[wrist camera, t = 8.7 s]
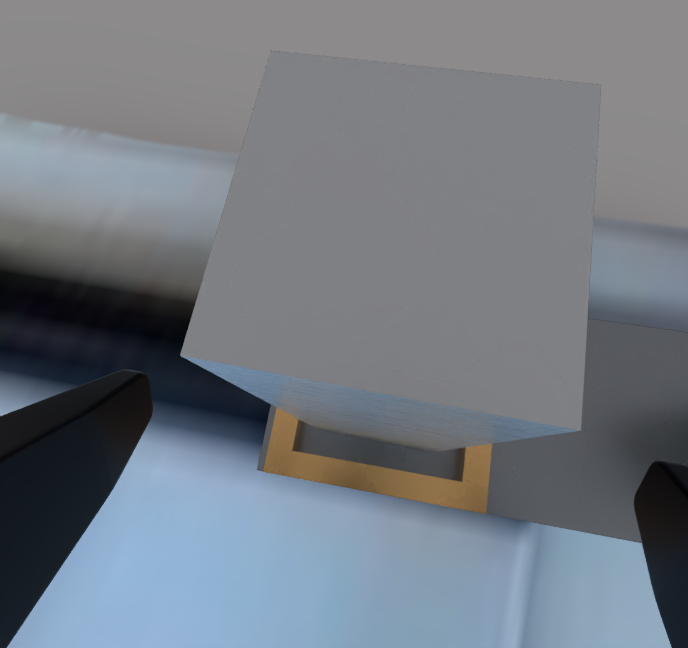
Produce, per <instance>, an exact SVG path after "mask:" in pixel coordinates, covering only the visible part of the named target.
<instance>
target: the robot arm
mask: <svg viewBox="0 0 688 648" xmlns="http://www.w3.org/2000/svg"><path fill="white" fill-rule="evenodd" d="M152 412H153V405H152V398H151V391H150V384H149V379H148V376H147V375H146V374H145V373H144V372H140V371H135V370H129V369H123V370H120V371H118V372H115V373H112V374H110V375H107V376H105V377H102V378H99V379H97V380H94V381H91V382H89V383H86V384H84V385H81V386H78V387H76V388H73V389H71V390H68V391H65V392H63V393H60V394H58V395H55V396H52V397H50V398H47V399H44V400H42V401H39V402H37V403H34V404H31V405H29V406H26V407H24V408H21V409H18V410H16V411H13V412H11V413H8V414H5V415H3V416H0V648H7V646H8V645H9V644H10V642H11V641H12V639H13V638H14V636H15V635H16V633H17V632H18V630H19V629H20V627H21V626H22V624H23V623H24V621H25V620H26V618H27V617H28V615H29V614H30V612H31V611H32V609H33V608H34V606H35V605H36V603H37V602H38V600H39V599H40V597H41V596H42V594H43V593H44V591H45V590H46V588H47V587H48V586H49V584H50V583H51V581H52V580H53V578H54V577H55V575H56V574H57V572H58V571H59V569H60V568H61V566H62V565H63V563H64V562H65V560H66V559H67V557H68V556H69V554H70V553H71V551H72V550H73V548H74V547H75V545H76V544H77V542H78V541H79V539H80V538H81V536H82V535H83V533H84V532H85V531H86V529H87V528H88V526H89V525H90V523H91V522H92V520H93V519H94V517H95V516H96V514H97V513H98V511H99V510H100V508H101V507H102V505H103V504H104V502H105V501H106V499H107V498H108V496H109V495H110V493H111V491H112V490H113V488H114V486H115V485H116V483H117V481H118V479H119V478H120V476H121V474H122V472H123V470H124V468H125V466H126V464H127V463H128V461H129V459H130V457H131V455H132V453H133V451H134V449H135V448H136V446H137V444H138V442H139V440H140V438H141V436H142V434H143V433H144V431H145V429H146V427H147V425H148V423H149V421H150V419H151V416H152ZM634 510H635V515H636V519H637V523H638V528H639V532H640V536H641V541H642V545H643V549H644V554H645V558H646V562H647V567H648V571H649V575H650V580H651V584H652V588H653V592H654V595H655V599H656V602H657V605H658V609H659V612H660V615H661V618H662V621H663V624H664V627H665V629H666V632H667V635H668V638H669V641H670V644H671V647H672V648H688V467H687V466H686V465H683V464H681V463H675V462H669V461H664V460H656V461H654V462H653V463H652V464H651V465H650V466H649V468H648V470H647V472H646V474H645V476H644V478H643V480H642V482H641V483H640V485H639V487H638V489H637V491H636V493H635V496H634Z"/></svg>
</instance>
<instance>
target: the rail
mask: <svg viewBox="0 0 688 648" xmlns="http://www.w3.org/2000/svg"><path fill="white" fill-rule="evenodd" d="M656 460H664V461H669V462H675V463H681V464H683V465H686V466H687V467H688V332H681V331H674V330H667V329H659V328H652V327H645V326H638V325H631V324H624V323H617V322H610V321H602V320H595V319H587V336H586V353H585V371H584V388H583V405H582V422H581V431H575V432H568V433H561V434H554V435H547V436H540V437H533V438H527V439H520V440H513V441H506V442H499V443H492V444H485V445H479V446H472V447H465V448H458V449H451V450H444V451H438V452H428V451H423V450H418V449H413V448H408V447H403V446H398V445H393V444H388V443H383V442H378V441H373V440H368V439H363V438H358V437H353V436H348V435H343V434H338V433H333V432H328V431H323V430H318V429H316V428H314V427H313V426H311V425H309V424H307V423H305V422H303V421H301V420H299V419H298V418H296V417H294V416H292V415H290V414H288V413H286V412H285V411H283V410H281V409H279V408H277V407H275V406H273V405H271V407H270V412H269V416H268V421H267V426H266V430H265V435H264V440H263V444H262V449H261V454H260V458H259V463H258V468H257V470H259V471H263V472H268V473H273V474H278V475H283V476H289V477H294V478H299V479H305V480H310V481H315V482H320V483H326V484H331V485H336V486H341V487H347V488H352V489H357V490H363V491H368V492H373V493H378V494H384V495H389V496H394V497H399V498H405V499H410V500H415V501H421V502H426V503H431V504H436V505H442V506H447V507H452V508H458V509H463V510H468V511H473V512H479V513H484V514H491V515H497V516H502V517H507V518H512V519H518V520H523V521H528V522H534V523H539V524H544V525H549V526H555V527H560V528H565V529H570V530H576V531H581V532H586V533H592V534H597V535H602V536H607V537H613V538H618V539H623V540H629V541H634V542H639V543H642V541H641V536H640V532H639V528H638V523H637V519H636V515H635V510H634V496H635V493H636V491H637V489H638V487H639V485H640V483H641V482H642V480H643V478H644V476H645V474H646V472H647V470H648V468H649V466H650V465H651V464H652V463H653V462H654V461H656Z"/></svg>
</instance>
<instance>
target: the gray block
mask: <svg viewBox="0 0 688 648" xmlns="http://www.w3.org/2000/svg"><path fill="white" fill-rule="evenodd" d="M600 97H601V85H599V84H589V83H579V82H570V81H561V80H551V79H540V78H532V77H522V76H512V75H502V74H492V73H483V72H473V71H464V70H454V69H444V68H435V67H424V66H415V65H405V64H396V63H386V62H377V61H366V60H357V59H348V58H338V57H328V56H319V55H309V54H299V53H290V52H280V51H270V55H269V58H268V62H267V65H266V68H265V72H264V75H263V78H262V82H261V85H260V88H259V92H258V95H257V99H256V102H255V105H254V109H253V112H252V115H251V119H250V122H249V125H248V129H247V132H246V136H245V139H244V142H243V146H242V149H241V152H240V156H239V159H238V162H237V166H236V169H235V173H234V176H233V179H232V183H231V186H230V189H229V193H228V196H227V199H226V203H225V206H224V210H223V213H222V216H221V220H220V223H219V226H218V230H217V233H216V236H215V240H214V243H213V247H212V250H211V253H210V257H209V260H208V263H207V267H206V270H205V273H204V277H203V280H202V284H201V287H200V290H199V294H198V297H197V300H196V304H195V307H194V311H193V314H192V317H191V321H190V324H189V327H188V331H187V334H186V337H185V341H184V344H183V348H182V351H181V354H180V356H182V357H184V358H186V359H188V360H189V361H191V362H193V363H195V364H197V365H199V366H201V367H202V368H204V369H206V370H208V371H210V372H212V373H214V374H216V375H217V376H219V377H221V378H223V379H225V380H227V381H229V382H230V383H232V384H234V385H236V386H238V387H240V388H242V389H244V390H245V391H247V392H249V393H251V394H253V395H255V396H257V397H258V398H260V399H262V400H264V401H266V402H268V403H270V404H271V405H273V406H275V407H277V408H279V409H281V410H283V411H285V412H286V413H288V414H290V415H292V416H294V417H296V418H298V419H299V420H301V421H303V422H305V423H307V424H309V425H311V426H313V427H314V428H316V429H318V430H323V431H328V432H333V433H338V434H343V435H348V436H353V437H358V438H363V439H368V440H373V441H378V442H383V443H388V444H393V445H398V446H403V447H408V448H413V449H418V450H423V451H428V452H438V451H444V450H451V449H458V448H465V447H472V446H479V445H485V444H492V443H499V442H506V441H513V440H520V439H527V438H533V437H540V436H547V435H554V434H561V433H568V432H575V431H581V422H582V405H583V388H584V371H585V353H586V336H587V319H588V302H589V285H590V268H591V251H592V234H593V217H594V200H595V199H594V198H595V182H596V166H597V148H598V131H599V114H600V113H599V112H600Z"/></svg>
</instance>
